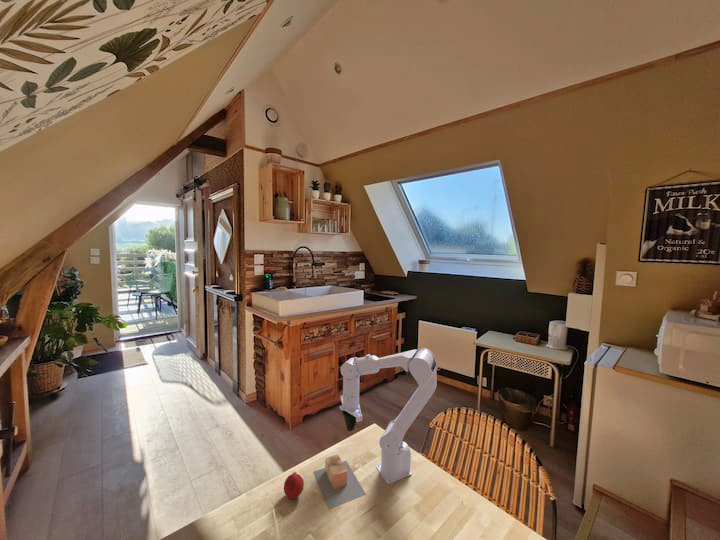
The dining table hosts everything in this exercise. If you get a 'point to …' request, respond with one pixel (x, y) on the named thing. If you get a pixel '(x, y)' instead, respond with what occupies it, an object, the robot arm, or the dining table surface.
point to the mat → (342, 493)
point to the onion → (293, 485)
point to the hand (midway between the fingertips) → (350, 429)
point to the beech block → (336, 471)
